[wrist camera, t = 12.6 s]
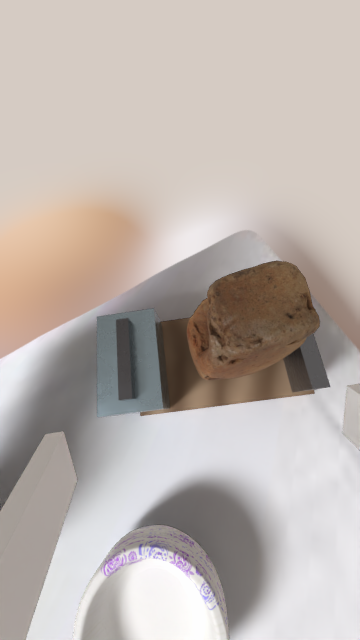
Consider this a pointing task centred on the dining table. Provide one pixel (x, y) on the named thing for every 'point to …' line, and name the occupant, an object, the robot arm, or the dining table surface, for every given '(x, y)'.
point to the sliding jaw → (131, 364)
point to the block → (251, 321)
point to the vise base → (273, 382)
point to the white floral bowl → (153, 591)
